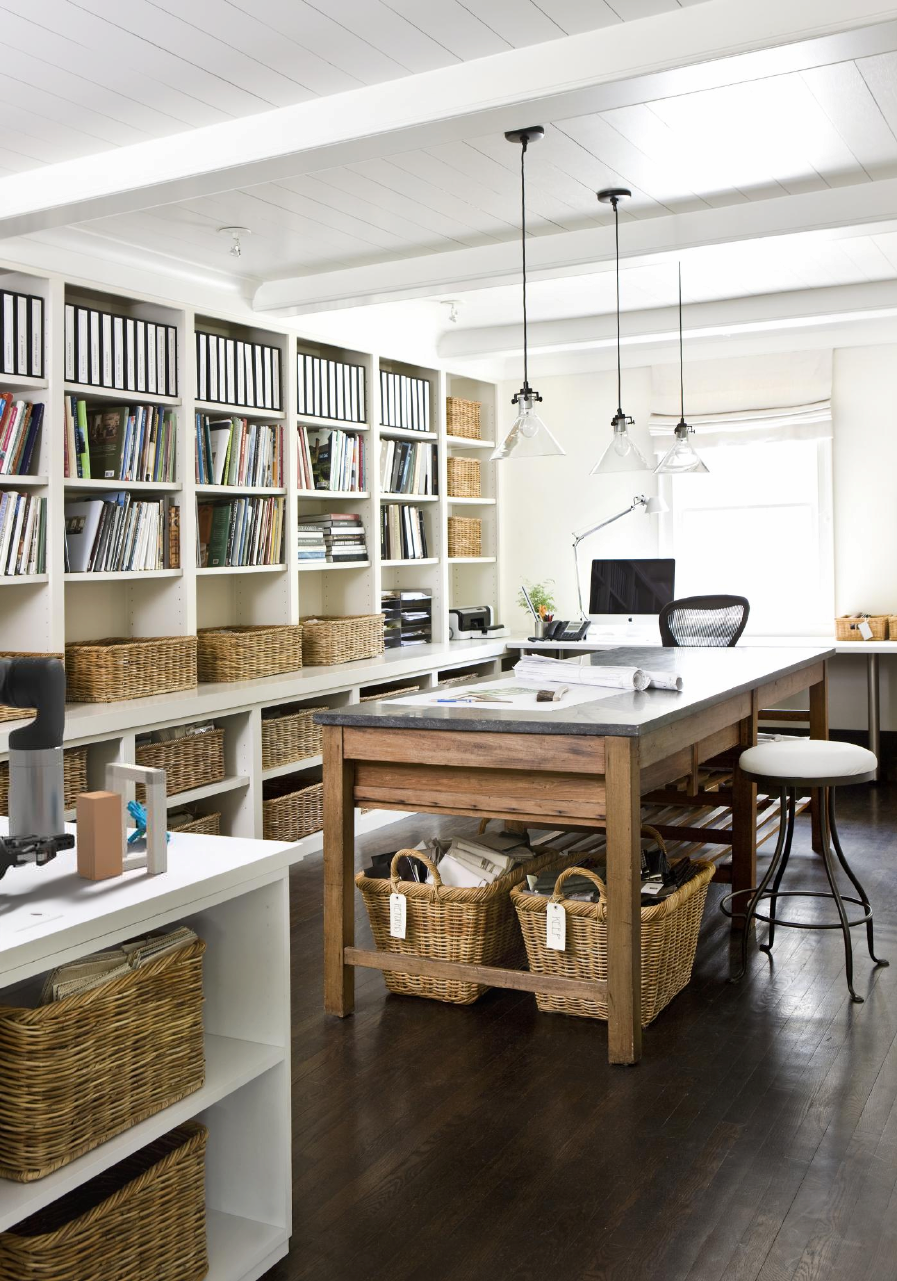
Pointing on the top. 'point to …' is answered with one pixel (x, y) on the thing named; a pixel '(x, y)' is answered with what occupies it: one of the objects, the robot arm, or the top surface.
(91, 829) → the orange and grey bookend
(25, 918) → the top surface
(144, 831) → the blue branched piece
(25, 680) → the robot arm
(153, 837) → the grey arch
